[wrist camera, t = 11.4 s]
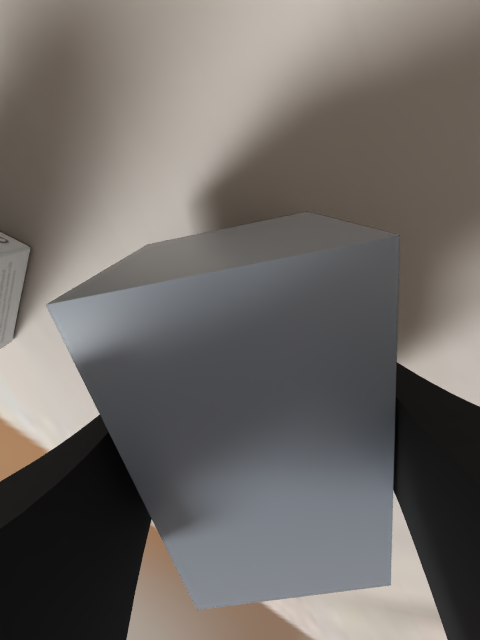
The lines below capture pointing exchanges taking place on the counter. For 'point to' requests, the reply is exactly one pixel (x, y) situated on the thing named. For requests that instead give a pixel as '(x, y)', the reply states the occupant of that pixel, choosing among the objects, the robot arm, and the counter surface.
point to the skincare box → (11, 284)
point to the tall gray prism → (252, 400)
